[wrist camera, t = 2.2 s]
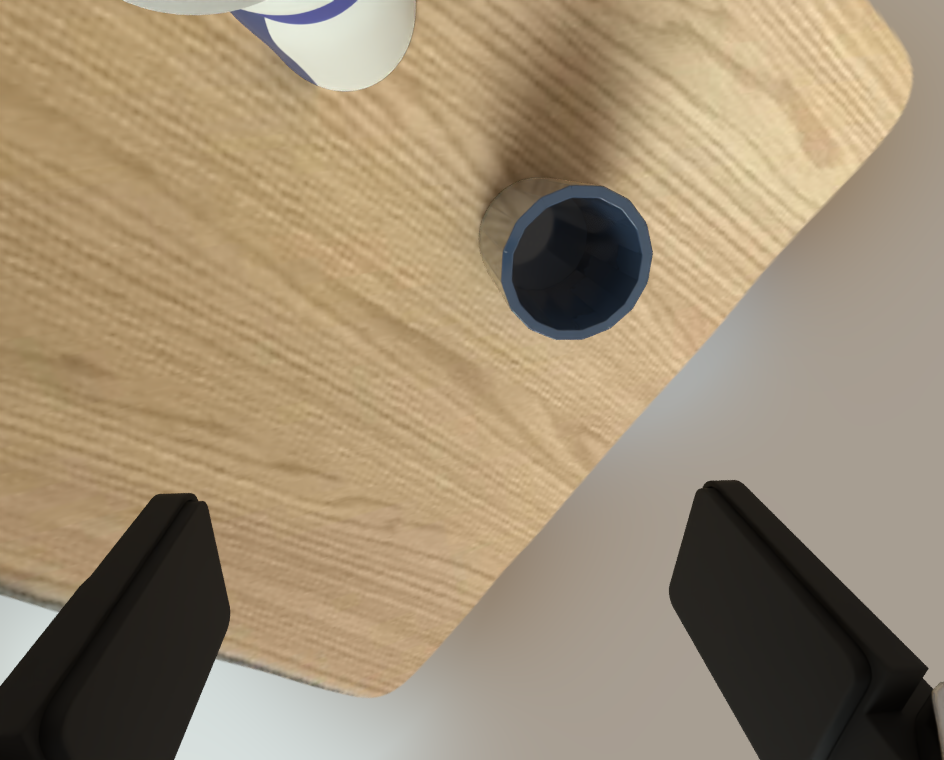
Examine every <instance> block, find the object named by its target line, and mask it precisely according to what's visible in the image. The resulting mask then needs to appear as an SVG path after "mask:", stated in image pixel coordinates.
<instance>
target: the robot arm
mask: <svg viewBox="0 0 944 760" xmlns="http://www.w3.org/2000/svg"><path fill="white" fill-rule="evenodd" d="M669 595H670V600H671V604H672V606H673V608H674V610H675V611H676V613H677V615H678V616H679V618H680V620H681V622H682V624H683V625H684V627H685V629H686V631H687V632H688V634H689V636H690V637H691V639H692V641H693V643H694V645H695V646H696V648H697V650H698V652H699V653H700V655H701V657H702V659H703V660H704V662H705V664H706V666H707V667H708V669H709V671H710V673H711V675H712V676H713V678H714V680H715V681H716V683H717V685H718V687H719V689H720V690H721V692H722V694H723V696H724V697H725V699H726V701H727V702H728V704H729V706H730V708H731V710H732V711H733V713H734V715H735V717H736V718H737V720H738V722H739V724H740V725H741V727H742V729H743V731H744V732H745V734H746V736H747V737H748V739H749V741H750V743H751V745H752V746H753V748H754V750H755V752H756V753H757V755H758V757H759V759H760V760H944V682H940V683H939V684H938V685H937V686H936V687H935V688H934V689H933V688H932V687H930V685H929V684H928V683H927V682H926V681H925V680H924V679H923V676H924V675H925V673H926V672H927V670H928V667H927V666H926V665H925V664H924V663H923V662H922V661H921V660H920V659H919V658H918V657H917V656H916V655H914V653H913V652H912V651H911V650H910V649H909V648H908V647H907V646H905V645H904V643H903V642H902V641H900V640H899V638H898V637H897V636H896V635H895V634H894V633H892V631H891V630H890V629H888V627H887V626H886V625H885V624H884V623H882V621H881V620H879V619H878V618H877V617H876V615H875V614H873V613H872V612H871V611H870V610H869V609H868V608H867V607H866V606H865V605H864V604H863V603H862V602H861V601H860V600H859V599H858V598H857V597H856V596H855V595H854V594H853V593H852V592H851V591H850V590H849V589H848V588H847V587H846V586H845V585H844V584H843V583H842V582H841V581H840V580H839V579H838V578H837V577H836V576H835V575H834V574H833V573H832V572H831V571H830V570H829V569H828V568H827V567H826V566H825V565H824V564H823V563H822V562H821V561H820V560H819V559H818V558H817V557H816V556H815V555H814V554H813V553H812V552H811V551H810V550H809V549H808V548H807V547H806V546H805V545H804V544H803V543H802V542H801V541H800V540H799V539H798V538H797V537H796V536H795V535H794V534H793V533H792V532H791V531H790V530H789V529H788V528H787V527H786V526H785V525H784V524H783V523H782V522H781V521H780V520H779V519H778V518H777V517H776V516H775V515H774V514H773V513H772V512H771V511H770V510H769V509H768V508H767V507H766V506H765V505H764V504H763V503H762V502H761V501H760V500H759V499H758V498H757V497H756V496H755V495H754V494H753V493H752V492H751V491H750V490H749V489H748V488H747V487H746V486H745V485H744V484H743V483H741V482H740V481H737V480H721V481H708V482H706V483H705V484H704V486H703V488H701V489H698V490H697V492H696V494H695V497H694V501H693V504H692V508H691V511H690V515H689V518H688V522H687V525H686V529H685V532H684V536H683V540H682V543H681V547H680V550H679V554H678V557H677V561H676V565H675V568H674V571H673V575H672V579H671V582H670V586H669ZM229 621H230V606H229V601H228V596H227V592H226V587H225V583H224V578H223V574H222V569H221V564H220V560H219V555H218V551H217V546H216V542H215V537H214V532H213V528H212V523H211V519H210V514H209V510H208V506H207V504H206V502H204V501H198V499H197V497H196V496H195V494H192V493H177V494H158V495H155V496H154V497H153V498H152V499H151V500H150V502H149V503H148V504H147V505H146V507H145V508H144V509H143V510H142V512H141V513H140V514H139V515H138V517H137V518H136V519H135V521H134V522H133V523H132V524H131V526H130V527H129V528H128V529H127V531H126V532H125V533H124V534H123V536H122V537H121V538H120V539H119V541H118V542H117V543H116V545H115V546H114V547H113V548H112V550H111V551H110V552H109V553H108V555H107V556H106V557H105V558H104V560H103V561H102V562H101V563H100V565H99V566H98V567H97V569H96V570H95V571H94V572H93V574H92V575H91V576H90V577H89V578H88V579H87V580H86V581H85V582H84V583H83V584H82V585H81V586H80V587H79V588H78V589H77V591H76V592H75V593H74V594H73V596H72V597H71V598H70V599H69V601H68V602H67V603H66V604H65V606H64V607H63V608H62V609H61V611H60V612H59V613H58V614H57V616H56V617H55V618H54V620H53V621H52V622H51V623H50V624H49V626H48V627H47V628H46V629H45V631H44V632H43V633H42V635H41V636H40V637H39V638H38V640H37V641H36V642H35V644H34V645H33V646H32V647H31V648H30V650H29V651H28V652H27V653H26V655H25V656H24V657H23V658H22V660H21V661H20V662H19V663H18V665H17V666H16V667H15V668H14V670H13V671H12V672H11V674H10V675H9V676H8V677H7V678H6V680H5V681H4V682H3V683H2V685H1V686H0V760H174V759H175V756H176V754H177V751H178V749H179V746H180V744H181V741H182V739H183V737H184V734H185V732H186V729H187V727H188V724H189V722H190V719H191V717H192V715H193V712H194V710H195V707H196V705H197V702H198V700H199V697H200V695H201V693H202V690H203V688H204V685H205V683H206V680H207V678H208V676H209V673H210V671H211V668H212V666H213V663H214V661H215V658H216V656H217V654H218V651H219V649H220V646H221V644H222V641H223V639H224V636H225V634H226V632H227V629H228V625H229Z"/></svg>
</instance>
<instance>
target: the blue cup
mask: <svg viewBox="0 0 944 760" xmlns="http://www.w3.org/2000/svg"><path fill="white" fill-rule="evenodd" d="M479 248H480V254H481V257H482V260H483V263H484V265H485V267H486V269H487V272H488V274H489V275H490V277H491V279H492V280H493V282H494V283H495V285H496V287H497V288H498V290H499V291H500V293H501V295H502V296H503V298H504V299H505V301H506V303H507V304H508V306H509V307H510V309H511V311H512V312H513V313H514V314H515V315H516V316H517V317H518V318H519V319H520V320H521V321H522V322H523V323H524V324H525V325H526V326H527V327H528V328H529V329H530V330H532V331H535V332H537V333H539V334H542V335H544V336H547V337H549V338H552V339H555V340H582V339H585V338H588V337H590V336H593V335H595V334H598V333H600V332H603V331H606V330H608V329H609V328H611V327H612V326H614V325H615V324H616V323H617V322H618V321H619V320H620V319H622V318H623V317H624V316H625V315H626V314H627V313H629V312H630V311H631V310H632V309H633V307H634V306H635V304H636V302H637V300H638V299H639V297H640V295H641V294H642V292H643V290H644V288H645V287H646V285H647V282H648V278H649V272H650V266H651V261H652V255H653V253H652V252H653V251H652V246H651V241H650V236H649V232H648V227H647V224H646V222H645V220H644V219H643V217H642V216H641V215H640V213H639V212H638V211H637V209H636V208H635V207H634V205H633V204H632V203H631V201H630V200H629V199H628V198H626V197H624V196H622V195H620V194H618V193H616V192H614V191H612V190H610V189H608V188H606V187H604V186H601V185H595V184H588V183H582V182H575V181H569V180H562V179H556V178H541V177H538V178H528V179H524V180H521V181H518V182H516V183H514V184H512V185H510V186H508V187H507V188H505V189H504V190H503V191H502V192H501V193H499V194H498V195H497V196H496V197H495V199H494V200H493V201H492V202H491V204H490V205H489V207H488V208H487V210H486V212H485V214H484V217H483V220H482V222H481V227H480V233H479Z"/></svg>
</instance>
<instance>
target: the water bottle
mask: <svg viewBox="0 0 944 760" xmlns="http://www.w3.org/2000/svg"><path fill="white" fill-rule="evenodd" d="M123 1H125V2H128V3H130V4H133V5H136V6H139V7H142V8H145V9H149V10H153V11H158V12H163V13H170V14H180V15H209V14H219V13H225V12H231V13H232V14H233V16H234V17H235V18H236V19H238V20H239V21H240V22H241V23H242V24H243V25H244V26H245V27H246V28H247V29H249V30H250V31H251V32H252V33H253V34H254V35H256V36H257V37H258V38H259V39H261V40H262V41H263V42H264V43H266V44H267V45H268V46H269V47H270V48H271V49H272V50H273V51H274V52H275V53H276V54H277V55H278V56H279V57H280V58H281V59H282V60H283V61H284V62H285V63H286V64H287V65H288V66H289V67H290V68H291V69H292V70H293V71H294V72H295V73H297V74H298V75H299V76H301V77H302V78H304V79H305V80H307V81H309V82H311V83H313V84H315V85H317V86H320V87H323V88H326V89H330V90H335V91H355V90H360V89H364V88H367V87H370V86H372V85H374V84H376V83H378V82H379V81H381V80H382V79H384V78H385V77H386V76H387V75H389V74H390V73H391V72H392V71H393V70H394V68H395V67H396V66H397V65H398V63H399V62H400V61H401V59H402V57H403V56H404V54H405V52H406V50H407V48H408V45H409V43H410V40H411V37H412V33H413V29H414V23H415V14H416V0H123Z"/></svg>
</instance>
